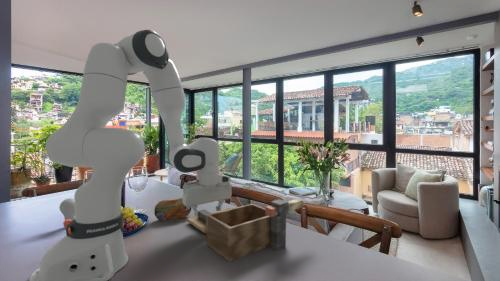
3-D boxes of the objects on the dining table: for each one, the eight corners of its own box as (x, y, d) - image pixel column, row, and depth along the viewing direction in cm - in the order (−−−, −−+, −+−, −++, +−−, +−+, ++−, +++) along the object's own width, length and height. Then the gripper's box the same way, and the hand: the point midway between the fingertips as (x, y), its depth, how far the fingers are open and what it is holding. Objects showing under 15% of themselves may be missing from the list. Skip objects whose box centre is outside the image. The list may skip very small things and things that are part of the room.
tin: (154, 222, 103) (154, 202, 102) (154, 219, 106) (153, 200, 105) (191, 217, 109) (191, 198, 108) (190, 214, 112) (190, 196, 111)
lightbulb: (81, 226, 98) (80, 198, 97) (62, 231, 94) (61, 202, 93) (77, 222, 102) (76, 195, 101) (58, 226, 98) (57, 198, 97)
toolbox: (238, 268, 70) (239, 215, 69) (206, 243, 85) (206, 199, 84) (287, 247, 83) (288, 202, 82) (252, 228, 97) (252, 190, 96)
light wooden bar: (271, 216, 79) (271, 209, 78) (265, 214, 81) (265, 206, 81) (303, 207, 88) (303, 200, 88) (296, 205, 91) (297, 198, 90)
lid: (210, 240, 88) (210, 225, 88) (187, 224, 102) (187, 211, 102) (253, 226, 101) (254, 213, 100) (228, 213, 115) (228, 202, 114)
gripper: (186, 183, 90) (186, 221, 90) (233, 176, 102) (233, 210, 103) (179, 180, 95) (179, 216, 95) (225, 174, 107) (225, 206, 108)
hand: (208, 213), depth 99 cm, fingers open, 8 cm apart
